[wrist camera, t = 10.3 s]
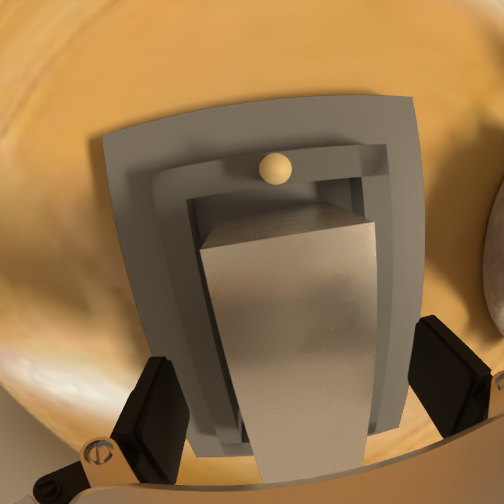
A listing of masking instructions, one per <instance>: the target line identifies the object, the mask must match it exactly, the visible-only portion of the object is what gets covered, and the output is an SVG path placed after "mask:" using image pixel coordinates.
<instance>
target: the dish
mask: <svg viewBox="0 0 504 504" xmlns="http://www.w3.org/2000/svg"><path fill="white" fill-rule="evenodd" d="M483 288H484V294H485V300H486V304H487V307H488V311H489V313H490V316H491V318H492V320H493V322H494V324H495V325H496V327H497V329H498V330H499V332H500V333H501V334H502V335H503V336H504V180H503V183H502V185H501V187H500V189H499V191H498V193H497V196H496V199H495V201H494V204H493V208H492V211H491V214H490V217H489V221H488V226H487V231H486V237H485V245H484V253H483Z"/></svg>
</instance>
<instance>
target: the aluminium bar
mask: <svg viewBox="0 0 504 504" xmlns="http://www.w3.org/2000/svg"><path fill="white" fill-rule="evenodd" d="M200 253H201V258H202V262H203V267H204V271H205V276H206V280H207V284H208V289H209V293H210V297H211V301H212V306H213V310H214V314H215V318H216V322H217V326H218V330H219V334H220V338H221V342H222V346H223V349H224V353H225V357H226V361H227V364H228V368H229V372H230V376H231V379H232V383H233V386H234V390H235V393H236V397H237V400H238V404H239V407H240V411H241V414H242V418H243V421H244V424H245V428H246V431H247V434H248V437H249V441H250V444H251V447H252V450H253V453H254V457H255V460H256V463H257V466H258V469H259V472H260V475H261V478H262V481H263V484H266V483H277V482H285V481H293V480H300V479H306V478H312V477H318V476H323V475H328V474H333V473H337V472H342V471H346V470H350V469H354V468H358V467H362V462H363V457H364V451H365V445H366V439H367V433H368V426H369V418H370V410H371V402H372V393H373V382H374V370H375V355H376V335H377V259H376V238H375V223H374V222H373V221H371V220H369V219H367V218H365V217H362V216H360V215H358V214H356V213H354V212H351V211H349V210H347V209H345V208H342V207H340V206H338V205H335V204H333V203H331V202H328V201H326V202H319V203H312V204H305V205H298V206H291V207H285V208H278V209H272V210H266V211H260V212H254V213H248V214H242V215H236V216H230V217H224V218H220V219H219V221H218V222H217V224H216V225H215V227H214V228H213V230H212V232H211V233H210V235H209V236H208V238H207V239H206V241H205V243H204V244H203V246H202V247H201V249H200Z"/></svg>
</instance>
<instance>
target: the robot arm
mask: <svg viewBox="0 0 504 504" xmlns="http://www.w3.org/2000/svg"><path fill="white" fill-rule="evenodd" d="M490 373H491V369H490V368H489V367H488V366H487V365H486V364H485V363H484V362H483V361H482V360H481V359H480V358H479V357H478V356H477V355H476V354H475V353H474V352H473V351H472V350H471V349H470V348H469V347H468V346H467V345H466V344H465V343H464V342H463V341H462V340H460V339H459V338H458V337H457V336H456V335H455V334H454V333H453V332H452V331H451V330H450V329H449V328H448V327H447V326H446V325H445V324H443V323H442V322H441V321H440V320H439V319H438V318H437V317H436V316H435V315H429V316H426V317H422V318H420V319H419V322H417V323H416V325H415V332H414V339H413V346H412V353H411V359H410V364H409V370H408V376H407V378H408V383H409V385H410V386H411V388H412V389H413V391H414V392H415V394H416V395H417V397H418V399H419V400H420V402H421V403H422V405H423V407H424V408H425V410H426V411H427V413H428V415H429V416H430V418H431V419H432V421H433V423H434V424H435V426H436V428H437V429H438V431H439V433H440V434H441V436H442V437H443V438H444V439H443V440H441V441H438V442H436V443H434V444H431V445H429V446H426V447H423V448H421V449H418V450H415V451H413V452H410V453H407V454H404V455H401V456H398V457H395V458H392V459H389V460H385V461H382V462H379V463H375V464H372V465H368V466H364V467H360V468H356V469H352V470H348V471H344V472H339V473H334V474H329V475H324V476H319V477H313V478H307V479H300V480H293V481H285V482H277V483H266V484H254V485H234V486H188V485H174V484H175V483H176V480H177V475H178V470H179V465H180V461H181V456H182V451H183V447H184V442H185V438H186V433H187V429H188V424H189V420H190V411H189V407H188V405H187V402H186V400H185V397H184V394H183V392H182V389H181V386H180V384H179V381H178V378H177V375H176V372H175V369H174V367H173V364H172V361H171V360H167V358H166V357H165V356H159V357H150V358H149V360H148V362H147V364H146V366H145V368H144V370H143V372H142V374H141V376H140V378H139V380H138V382H137V384H136V386H135V388H134V390H133V391H132V392H131V393H130V395H129V397H128V399H127V402H126V404H125V406H124V408H123V410H122V412H121V414H120V416H119V418H118V421H117V423H116V425H115V427H114V429H113V431H112V433H111V436H110V438H108V437H96V438H93V439H91V440H89V441H87V442H86V443H85V444H84V445H83V446H82V448H81V450H80V454H79V455H80V461H78V462H76V463H73V464H71V465H69V466H66V467H64V468H62V469H59V470H57V471H55V472H52V473H50V474H47V475H45V476H43V477H41V478H39V479H38V480H37V481H36V483H35V485H34V487H33V495H32V496H30V495H28V494H27V495H26V496H25V497H24V498H22V499H21V500H19V501H18V502H17V503H15V504H504V371H500V372H498V373H496V374H495V375H494V376H492V375H491V374H490Z"/></svg>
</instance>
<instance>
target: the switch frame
mask: <svg viewBox="0 0 504 504" xmlns="http://www.w3.org/2000/svg"><path fill="white" fill-rule="evenodd" d="M102 142H103V150H104V158H105V165H106V172H107V178H108V185H109V191H110V196H111V202H112V207H113V212H114V217H115V222H116V227H117V232H118V236H119V241H120V245H121V249H122V254H123V258H124V262H125V266H126V270H127V274H128V277H129V281H130V285H131V288H132V292H133V295H134V299H135V302H136V306H137V309H138V312H139V315H140V319H141V322H142V325H143V328H144V331H145V334H146V337H147V340H148V343H149V346H150V349H151V352H152V354H153V357H159V356H165V357H166V358H167V360H171V361H172V364H173V367H174V369H175V372H176V375H177V378H178V381H179V384H180V386H181V389H182V392H183V394H184V397H185V400H186V402H187V405H188V407H189V411H190V420H189V424H188V429H187V433H186V437H187V439H188V441H189V443H190V445H191V447H192V449H193V451H194V454H195V456H196V457H236V456H252V455H254V453H253V450H252V447H251V444H250V441H249V437H248V434H247V431H246V428H245V424H244V421H243V418H242V414H241V411H240V407H239V404H238V400H237V397H236V393H235V390H234V386H233V383H232V379H231V376H230V372H229V368H228V364H227V361H226V357H225V353H224V349H223V346H222V342H221V338H220V334H219V330H218V326H217V322H216V318H215V314H214V310H213V306H212V301H211V297H210V293H209V289H208V284H207V280H206V276H205V271H204V267H203V262H202V258H201V253H200V249H201V247H202V246H203V244H204V243H205V241H206V239H207V238H208V236H209V235H210V233H211V232H212V230H213V228H214V227H215V225H216V224H217V222H218V221H219V219H220V218H224V217H230V216H236V215H242V214H248V213H254V212H260V211H266V210H272V209H278V208H285V207H291V206H298V205H305V204H312V203H319V202H326V201H328V202H331V203H333V204H335V205H338V206H340V207H342V208H345V209H347V210H349V211H351V212H354V213H356V214H358V215H360V216H362V217H365V218H367V219H369V220H371V221H373V222H374V223H375V238H376V259H377V335H376V355H375V370H374V382H373V393H372V402H371V410H370V418H369V426H368V433H367V436H371V435H374V434H378V433H381V432H385V431H388V430H392V429H395V428H398V427H399V424H400V420H401V416H402V413H403V409H404V405H405V401H406V396H407V392H408V388H409V383H408V378H407V376H408V370H409V364H410V359H411V353H412V346H413V339H414V332H415V325H416V323H417V322H419V319H420V314H421V305H422V294H423V280H424V261H425V204H424V185H423V171H422V160H421V151H420V143H419V135H418V128H417V121H416V115H415V109H414V104H413V98H412V97H406V96H386V95H328V96H308V97H293V98H282V99H272V100H263V101H255V102H247V103H240V104H233V105H227V106H220V107H215V108H209V109H204V110H198V111H193V112H188V113H184V114H179V115H175V116H170V117H166V118H162V119H158V120H154V121H150V122H146V123H142V124H138V125H135V126H131V127H128V128H124V129H121V130H118V131H114V132H111V133H108V134H105V135H102Z"/></svg>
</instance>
